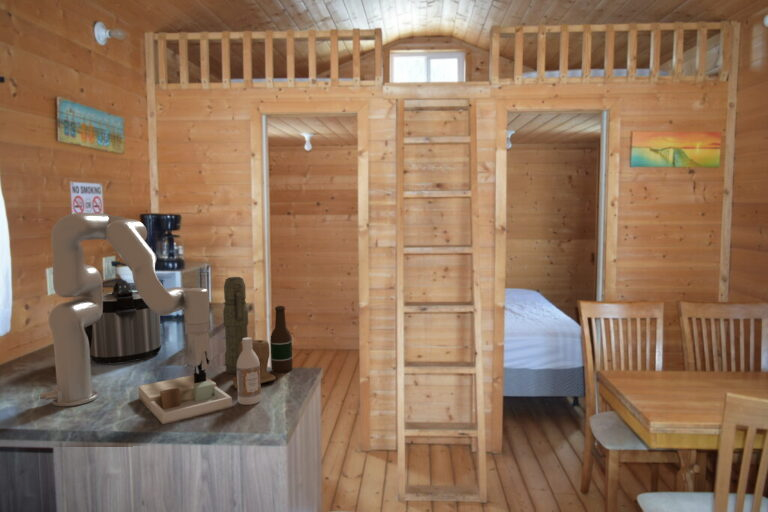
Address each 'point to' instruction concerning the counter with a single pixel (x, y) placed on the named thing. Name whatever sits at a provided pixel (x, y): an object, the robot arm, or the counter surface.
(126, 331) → the pressure cooker
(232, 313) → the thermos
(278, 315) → the beer bottle
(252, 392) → the bath foam
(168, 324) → the counter surface
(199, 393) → the sage tile
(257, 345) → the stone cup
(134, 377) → the counter surface
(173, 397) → the walnut tile
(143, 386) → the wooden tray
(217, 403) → the box
